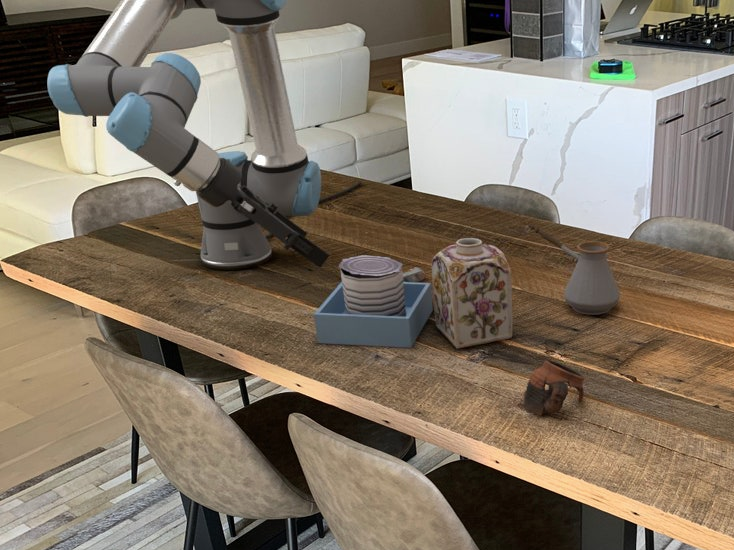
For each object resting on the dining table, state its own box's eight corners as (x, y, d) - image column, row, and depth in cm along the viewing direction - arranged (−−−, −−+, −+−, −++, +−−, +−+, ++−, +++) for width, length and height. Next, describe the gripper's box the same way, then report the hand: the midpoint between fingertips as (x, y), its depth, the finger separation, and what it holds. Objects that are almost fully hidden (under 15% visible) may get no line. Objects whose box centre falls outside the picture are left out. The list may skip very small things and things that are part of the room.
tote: (347, 306, 176) (343, 279, 173) (432, 310, 174) (430, 283, 172) (317, 343, 161) (313, 314, 158) (411, 347, 159) (408, 318, 156)
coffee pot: (629, 304, 178) (633, 232, 171) (602, 323, 170) (605, 249, 162) (541, 283, 188) (541, 215, 180) (512, 301, 179) (510, 230, 171)
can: (350, 311, 171) (342, 253, 165) (408, 309, 173) (403, 251, 166) (343, 335, 162) (335, 274, 156) (405, 333, 163) (399, 272, 157)
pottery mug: (513, 397, 144) (533, 352, 143) (564, 417, 147) (584, 373, 146) (525, 415, 133) (547, 366, 132) (580, 436, 136) (602, 389, 135)
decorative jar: (455, 350, 158) (449, 255, 149) (433, 327, 167) (427, 236, 158) (515, 338, 163) (513, 245, 154) (491, 316, 172) (487, 227, 163)
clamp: (407, 263, 191) (436, 274, 185) (408, 272, 192) (437, 284, 187) (349, 280, 182) (378, 293, 176) (351, 290, 183) (379, 303, 177)
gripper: (180, 175, 150) (282, 245, 164) (209, 213, 131) (320, 289, 145) (206, 140, 149) (306, 214, 164) (238, 173, 131) (347, 253, 145)
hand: (313, 249), depth 155 cm, fingers open, 13 cm apart
